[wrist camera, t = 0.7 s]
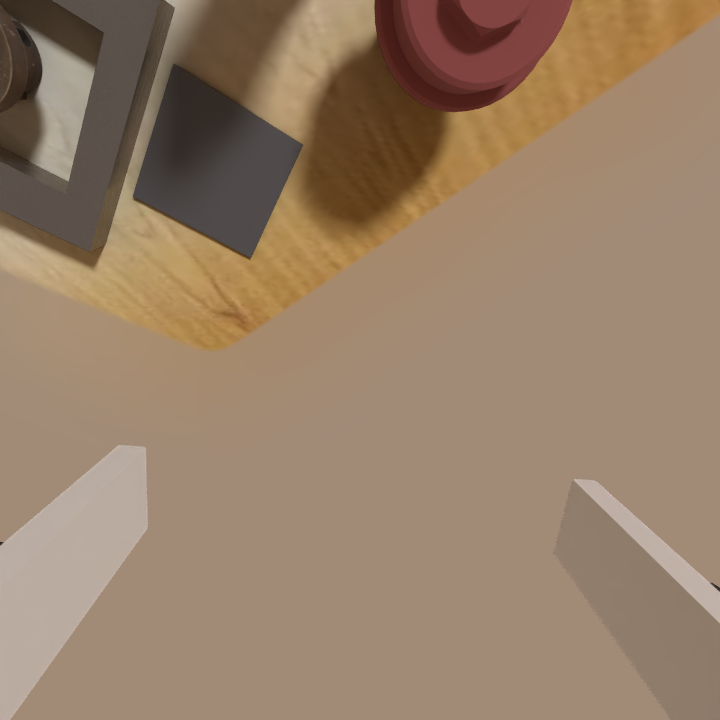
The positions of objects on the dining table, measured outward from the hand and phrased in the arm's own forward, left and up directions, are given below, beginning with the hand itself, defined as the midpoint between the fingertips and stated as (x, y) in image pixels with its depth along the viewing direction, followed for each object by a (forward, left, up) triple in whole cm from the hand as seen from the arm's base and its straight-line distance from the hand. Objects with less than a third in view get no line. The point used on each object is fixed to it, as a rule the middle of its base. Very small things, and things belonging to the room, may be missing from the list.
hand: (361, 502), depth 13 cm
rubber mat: (-1, -12, -27) cm, 30 cm away
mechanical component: (-17, -2, -27) cm, 32 cm away
